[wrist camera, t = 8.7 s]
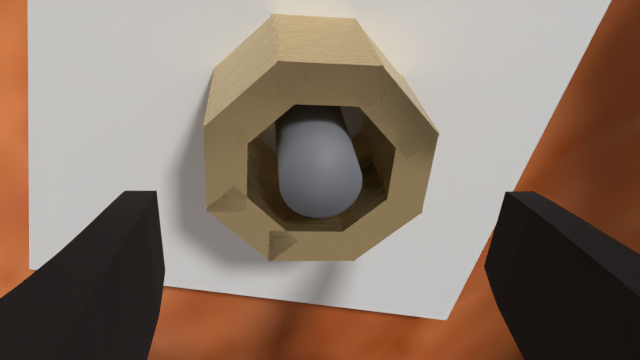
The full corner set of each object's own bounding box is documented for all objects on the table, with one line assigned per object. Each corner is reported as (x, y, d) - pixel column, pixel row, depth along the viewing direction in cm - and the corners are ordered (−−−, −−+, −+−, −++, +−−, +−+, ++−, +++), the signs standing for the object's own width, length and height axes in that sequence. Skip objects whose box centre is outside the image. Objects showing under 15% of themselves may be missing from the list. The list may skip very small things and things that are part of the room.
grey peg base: (631, -105, 16) (808, -84, 11) (436, 294, 24) (485, 417, 18) (49, -302, 12) (-95, -408, 7) (43, 242, 20) (-29, 375, 15)
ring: (411, 20, 16) (454, 68, 12) (383, 186, 19) (411, 261, 15) (213, 9, 15) (200, 56, 12) (216, 183, 18) (207, 261, 14)
